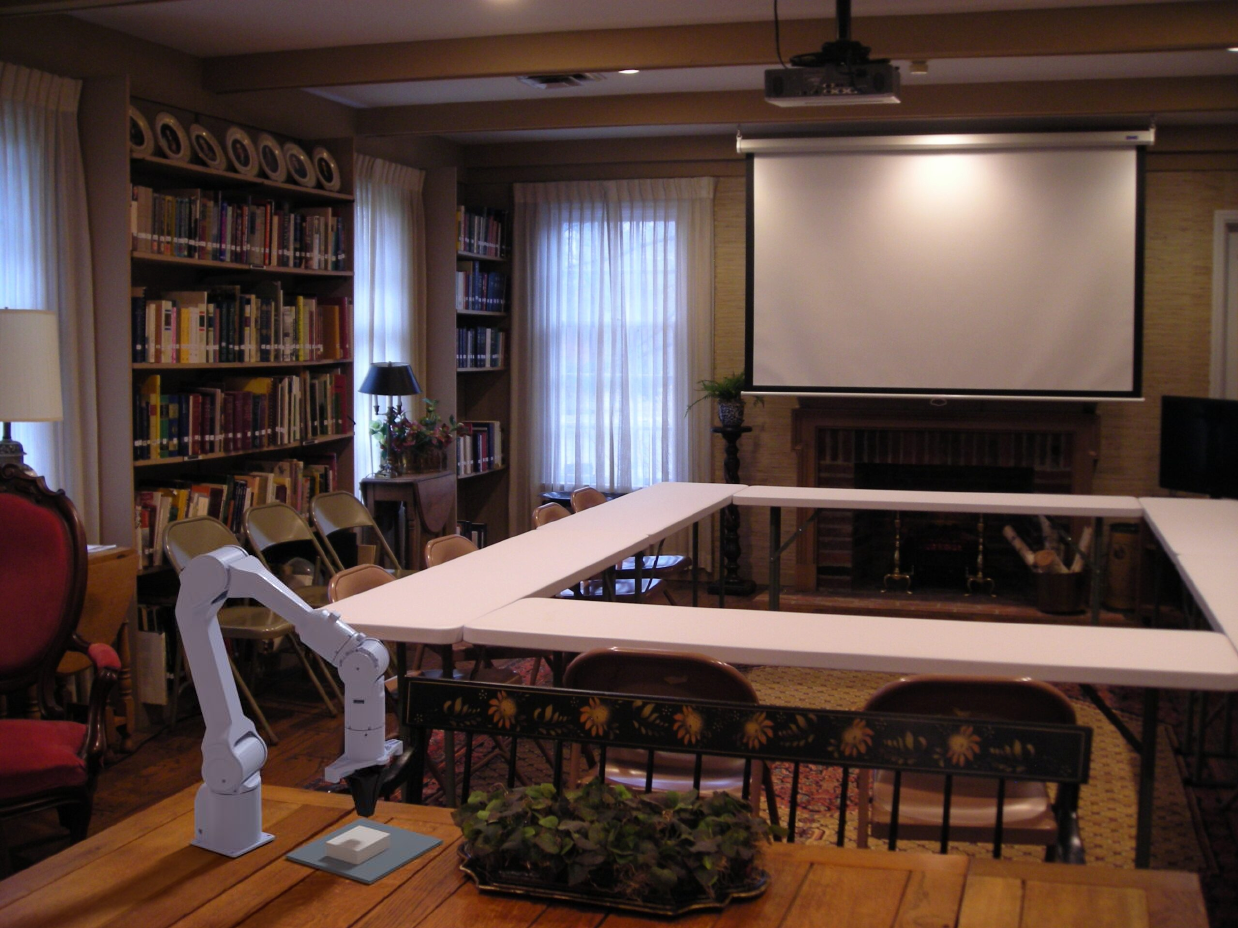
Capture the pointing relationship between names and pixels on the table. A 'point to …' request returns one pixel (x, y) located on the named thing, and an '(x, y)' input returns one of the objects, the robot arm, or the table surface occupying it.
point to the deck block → (358, 844)
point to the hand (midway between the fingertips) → (365, 814)
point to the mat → (400, 853)
